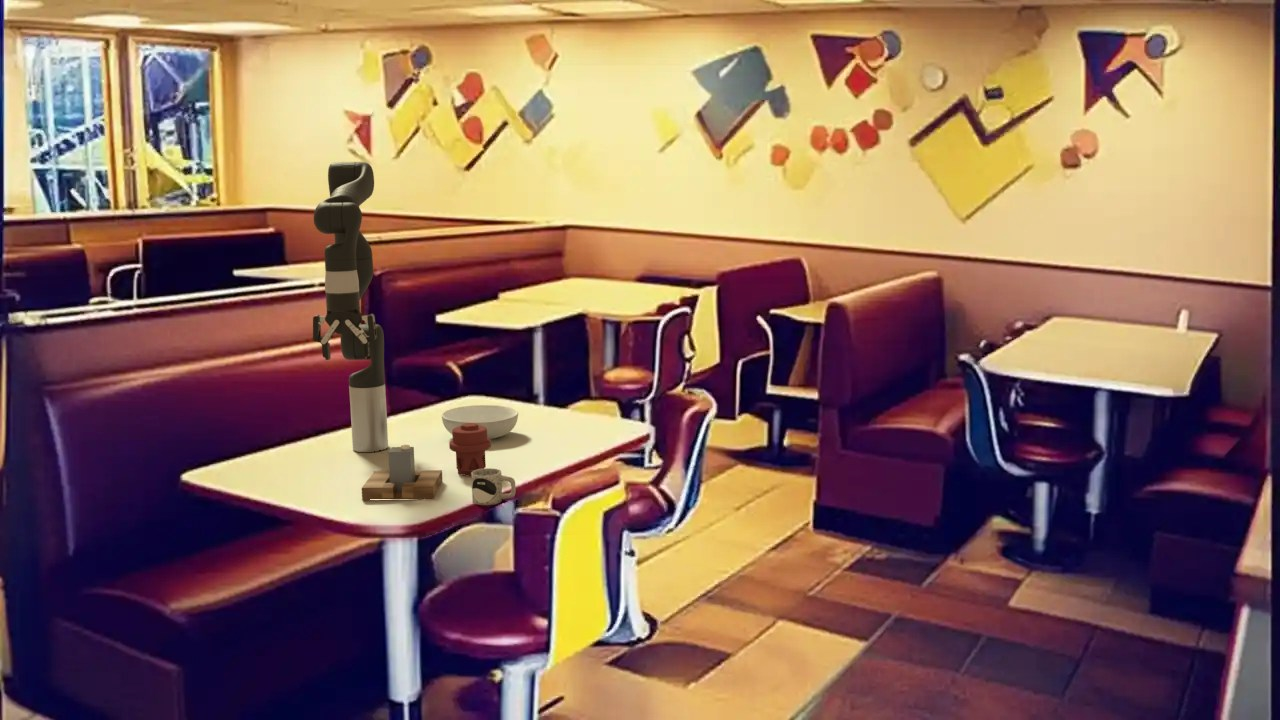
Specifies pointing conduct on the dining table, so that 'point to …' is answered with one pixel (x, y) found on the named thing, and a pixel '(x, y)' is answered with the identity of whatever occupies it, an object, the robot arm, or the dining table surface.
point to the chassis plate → (420, 489)
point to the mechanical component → (469, 447)
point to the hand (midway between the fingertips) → (346, 359)
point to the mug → (490, 486)
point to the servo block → (401, 466)
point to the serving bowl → (482, 418)
